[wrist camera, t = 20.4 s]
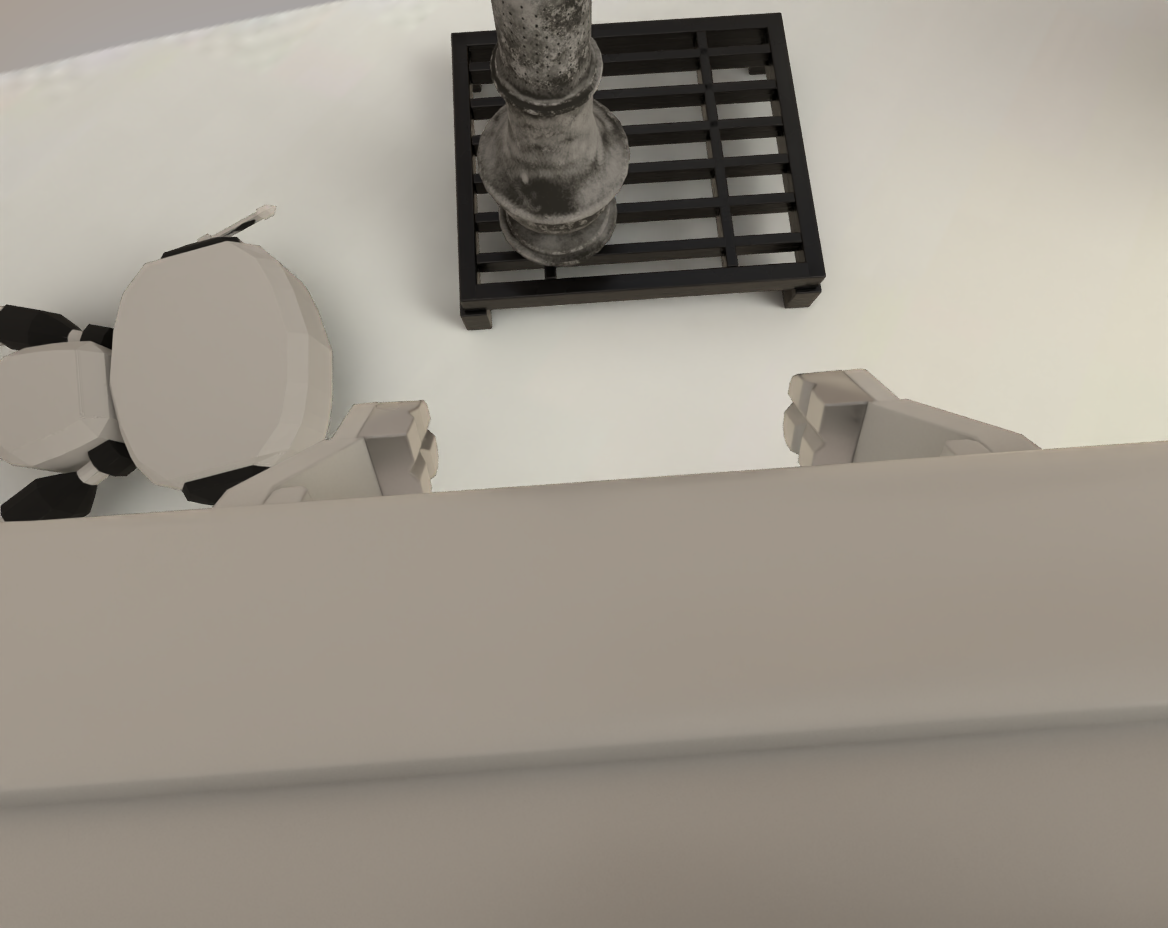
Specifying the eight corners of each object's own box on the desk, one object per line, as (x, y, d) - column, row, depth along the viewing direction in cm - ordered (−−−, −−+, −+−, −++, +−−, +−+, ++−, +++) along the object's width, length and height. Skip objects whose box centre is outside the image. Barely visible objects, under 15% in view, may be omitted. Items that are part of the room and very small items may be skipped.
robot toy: (57, 575, 25) (375, 493, 25) (-66, 578, 21) (320, 478, 20) (42, 328, 27) (333, 249, 27) (-72, 283, 23) (275, 187, 23)
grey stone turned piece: (582, 134, 26) (579, -238, 14) (648, 234, 25) (705, -75, 13) (469, 191, 25) (365, -147, 13) (532, 295, 24) (479, 31, 12)
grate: (768, 55, 29) (785, 8, 27) (809, 307, 27) (832, 280, 24) (458, 74, 29) (446, 29, 27) (467, 330, 26) (454, 306, 24)
